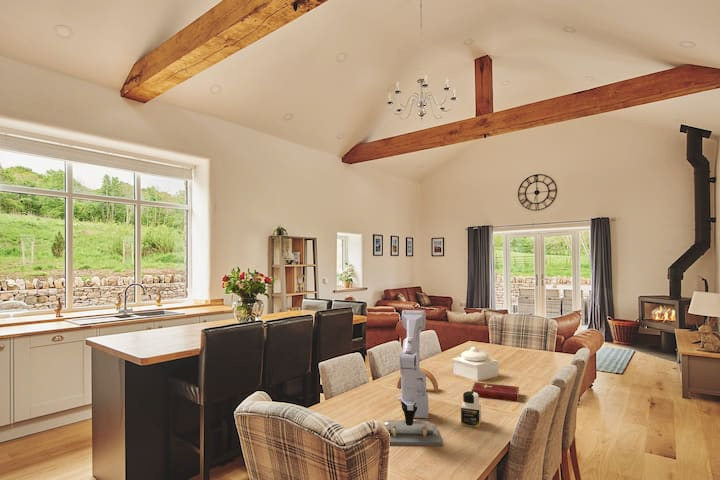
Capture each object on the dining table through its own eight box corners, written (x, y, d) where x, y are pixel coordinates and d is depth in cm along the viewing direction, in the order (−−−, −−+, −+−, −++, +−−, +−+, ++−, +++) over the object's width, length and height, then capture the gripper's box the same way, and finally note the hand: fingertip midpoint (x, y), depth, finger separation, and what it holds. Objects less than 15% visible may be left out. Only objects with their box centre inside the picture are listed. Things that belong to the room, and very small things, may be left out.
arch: (400, 385, 219) (400, 365, 220) (438, 389, 212) (438, 369, 212) (396, 388, 214) (396, 368, 214) (436, 393, 207) (436, 372, 207)
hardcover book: (518, 403, 194) (518, 393, 194) (471, 397, 202) (471, 388, 202) (519, 395, 205) (519, 386, 205) (474, 389, 213) (474, 381, 213)
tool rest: (436, 429, 163) (436, 419, 163) (441, 445, 149) (441, 434, 149) (379, 428, 164) (379, 418, 164) (379, 444, 150) (379, 433, 150)
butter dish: (498, 376, 235) (498, 347, 236) (476, 381, 225) (476, 351, 226) (473, 369, 250) (473, 342, 250) (452, 374, 239) (452, 346, 240)
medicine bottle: (461, 425, 167) (460, 394, 168) (463, 418, 174) (463, 389, 174) (479, 427, 165) (479, 396, 165) (481, 420, 171) (480, 391, 172)
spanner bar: (432, 430, 158) (432, 421, 158) (433, 434, 154) (434, 424, 155) (383, 429, 159) (383, 419, 159) (383, 432, 155) (383, 423, 155)
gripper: (397, 380, 164) (397, 415, 164) (399, 392, 150) (399, 431, 149) (415, 380, 164) (415, 415, 164) (418, 392, 150) (419, 431, 149)
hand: (408, 423), depth 157 cm, fingers closed on spanner bar, 3 cm apart
